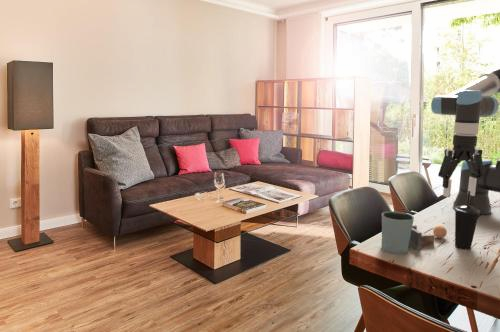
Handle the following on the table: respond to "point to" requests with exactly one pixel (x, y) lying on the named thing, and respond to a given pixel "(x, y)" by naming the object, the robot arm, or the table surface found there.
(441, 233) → the ball
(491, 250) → the table surface
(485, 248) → the table surface
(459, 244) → the drinking cup
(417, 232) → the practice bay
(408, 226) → the blue-grey embossed pot
